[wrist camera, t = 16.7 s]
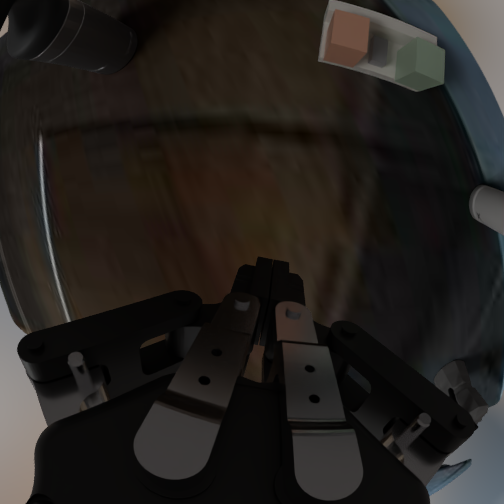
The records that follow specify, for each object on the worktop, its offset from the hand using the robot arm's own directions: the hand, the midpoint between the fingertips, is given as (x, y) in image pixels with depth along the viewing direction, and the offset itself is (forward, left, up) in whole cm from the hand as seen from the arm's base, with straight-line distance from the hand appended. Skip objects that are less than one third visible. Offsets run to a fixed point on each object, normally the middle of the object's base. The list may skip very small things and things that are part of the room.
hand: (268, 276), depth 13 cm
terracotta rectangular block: (+5, +21, -25) cm, 33 cm away
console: (+10, +22, -27) cm, 36 cm away
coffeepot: (+47, -31, -27) cm, 62 cm away
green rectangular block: (+15, +21, -24) cm, 36 cm away
